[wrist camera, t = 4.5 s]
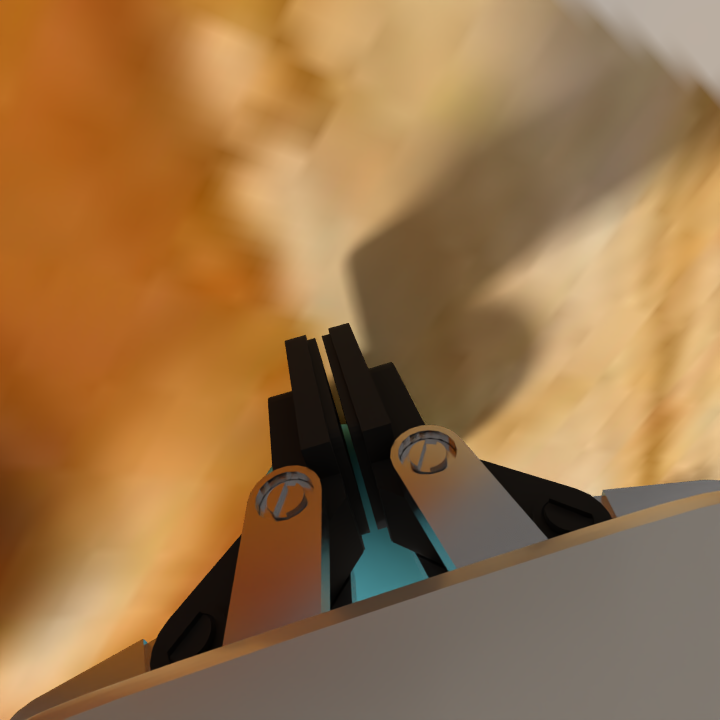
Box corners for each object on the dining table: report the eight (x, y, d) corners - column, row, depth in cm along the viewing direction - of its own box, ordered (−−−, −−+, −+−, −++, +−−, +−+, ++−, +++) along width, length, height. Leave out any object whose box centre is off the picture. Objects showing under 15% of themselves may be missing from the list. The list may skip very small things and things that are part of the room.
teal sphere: (201, 447, 11) (261, 729, 9) (432, 378, 11) (524, 627, 10) (250, 464, 16) (292, 639, 15) (402, 417, 17) (457, 579, 16)
